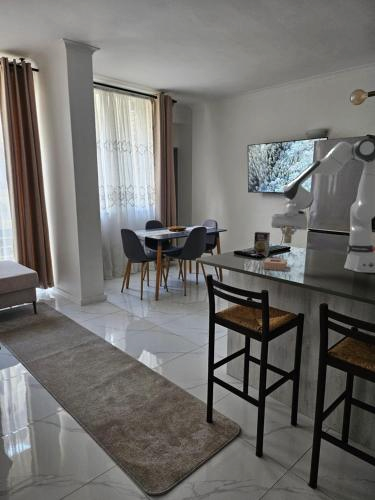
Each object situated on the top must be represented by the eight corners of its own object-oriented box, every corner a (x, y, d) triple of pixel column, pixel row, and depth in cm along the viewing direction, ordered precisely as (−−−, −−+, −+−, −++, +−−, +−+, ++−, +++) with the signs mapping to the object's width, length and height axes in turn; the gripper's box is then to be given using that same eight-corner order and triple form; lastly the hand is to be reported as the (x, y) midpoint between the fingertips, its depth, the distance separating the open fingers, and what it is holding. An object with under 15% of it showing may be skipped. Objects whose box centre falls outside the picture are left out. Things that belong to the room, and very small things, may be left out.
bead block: (286, 265, 206) (286, 259, 205) (284, 270, 195) (285, 263, 194) (266, 264, 210) (266, 257, 209) (263, 268, 199) (263, 262, 198)
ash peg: (291, 242, 199) (292, 227, 197) (290, 243, 195) (292, 227, 194) (284, 241, 201) (285, 226, 199) (283, 242, 197) (284, 227, 195)
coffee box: (253, 255, 235) (254, 232, 232) (256, 254, 240) (256, 231, 237) (266, 257, 231) (267, 233, 228) (269, 255, 236) (270, 232, 233)
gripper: (272, 210, 205) (269, 228, 197) (308, 212, 197) (306, 231, 190) (273, 217, 209) (269, 235, 202) (308, 219, 202) (306, 238, 195)
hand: (288, 233), depth 196 cm, fingers closed on ash peg, 4 cm apart
